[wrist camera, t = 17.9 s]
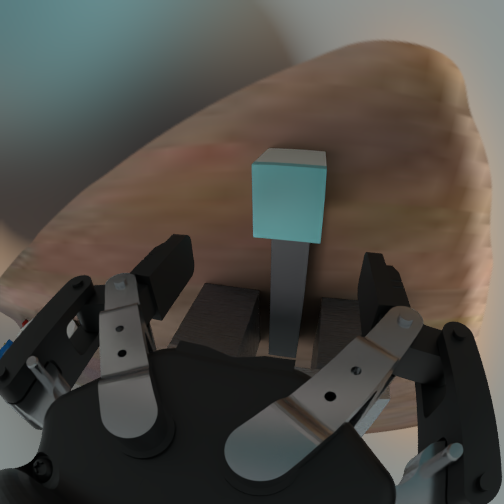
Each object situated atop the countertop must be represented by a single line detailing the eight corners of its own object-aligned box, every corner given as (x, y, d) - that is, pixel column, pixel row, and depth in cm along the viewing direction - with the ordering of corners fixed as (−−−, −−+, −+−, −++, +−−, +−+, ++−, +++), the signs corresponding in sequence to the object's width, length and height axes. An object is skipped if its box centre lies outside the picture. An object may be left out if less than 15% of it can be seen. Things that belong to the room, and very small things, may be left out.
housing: (213, 333, 34) (178, 408, 25) (205, 283, 30) (157, 364, 21) (361, 351, 31) (361, 437, 21) (378, 302, 26) (390, 399, 17)
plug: (267, 334, 32) (256, 374, 27) (268, 147, 21) (251, 164, 16) (305, 339, 31) (298, 380, 26) (325, 151, 21) (326, 169, 16)
